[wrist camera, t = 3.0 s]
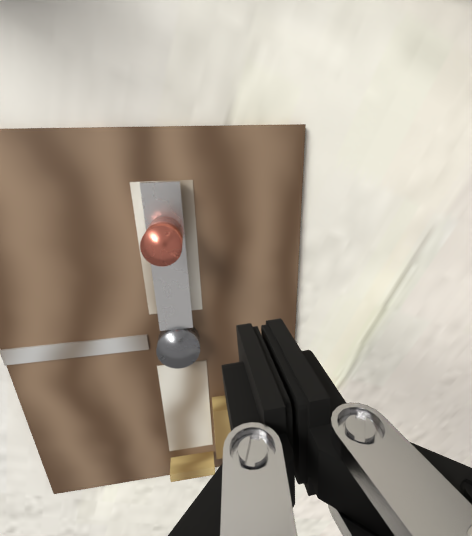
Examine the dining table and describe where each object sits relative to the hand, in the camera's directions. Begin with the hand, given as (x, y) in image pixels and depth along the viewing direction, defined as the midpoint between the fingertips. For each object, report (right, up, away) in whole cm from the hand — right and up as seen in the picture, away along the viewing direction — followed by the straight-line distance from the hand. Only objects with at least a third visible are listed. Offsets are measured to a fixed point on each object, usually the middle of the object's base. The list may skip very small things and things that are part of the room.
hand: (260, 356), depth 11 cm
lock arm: (-7, +2, +16) cm, 17 cm away
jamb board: (-9, -4, +19) cm, 21 cm away
